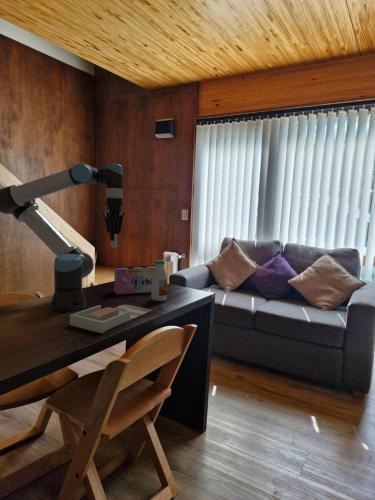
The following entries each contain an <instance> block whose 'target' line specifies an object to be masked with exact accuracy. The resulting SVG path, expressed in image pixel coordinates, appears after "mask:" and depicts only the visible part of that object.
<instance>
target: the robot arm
mask: <svg viewBox="0 0 375 500" xmlns="http://www.w3.org/2000/svg"><path fill="white" fill-rule="evenodd" d="M123 171H124V170H123V166H122V165H121V164H119V163H107V164H106V165H105V167H93V166H91V165H89V164H86V163H83V162H82V163H81V162H80V163H79V162H78V163H76V164H74V165H73V167H71V168H67V169H64V170H61V171H58V172H56V173H52V174H49V175H46V176H42V177H40V178H37V179H35V180H30V181H28V182H26V183H22V184H20V185H16V184H11V185H9V186H5V187H1V188H0V213H1V214H5V215H6V214H7V215H12V216H13V217H14V218H15V220H17V221H18V222H20V223H21V222H22V223H24V224H26V226H27V227H28V228H29V229H30V230H31V231H32V232H33V233H34V234H35V235H36V236H37V238H39V239H40V240H41V242H43V243H44V244H45V246H46V247H47V248H48V249H50V251H51V252H52V253H53V254H54V255H55V256H56V257H55V258H54V261H53V262H54V263H53V271H54V272H53V275H54V276H53V277H54V280H53V281H54V283H53V284H54V286H53V287H54V291H53V295H52V298H51V301H50V309H51V310H52V311H54V312H60V313H63V312H64V313H65V312H66V313H67V312H68V313H70V312H75V311H79V310H83V309H84V308H86V307H87V301H86V298H85V295H84V292H83V279H85V278H86V277H88V276H90V274H91V273H92V271H93V270H94V268H95V267H94V266H95V263H94V260H93V258H92V256H91V255H90V254H88V253H86V252H83V251H82V250H81V249H80V248H79V247H78V246H75V245H74V246H72V244H71V243H70V242H69V241H68V240H67V239H66V238H65V237H64V235H63V234H62V233H61V232H59V230H58V229H57V228H56V227H55V226H54V225H53V224H52V223H51V222H50V221H49V220H48V219H47V218H46V216H45V215H44V214H43V213H41V212H40V211H39V209H40V208H39V205H38V204H37V202H36V200H37V199H39V198H42V197H45V196H48V195H51V194H55V193H57V192H60V191H64V190H66V189H68V188H72V187H75V186H79V185H82V184H84V185H105V188H106V190H105V194H106V196H105V197H106V198H105V205H106V206H107V209H106V211H104V212H103V213H102V214H103V216H104V222H105V223H104V224H105V228H106V229H105V230H106V232H107V233H108V234H110V235H109V239H110V248H113V249H114V248H115V249H116V248H118V238H119V237H118V236H119V235H120V233H121V232H122V226H123V220H124V216H125V212H123V211H122V208H121V207H122V206H123V199H122V198H123V194H124V193H123V190H124V189H123V182H124V181H123V179H124V174H123V173H124V172H123Z"/></svg>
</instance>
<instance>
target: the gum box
mask: <svg viewBox="0 0 375 500" xmlns="http://www.w3.org/2000/svg"><path fill="white" fill-rule="evenodd" d="M155 267H156V265H135V266H132V265H131V266H130V265H129V266H114V281H113V282H114V286H113V287H114V290H113V291H114V293H116V295H127V294H128V295H129V294H138V293H139V294H142V293H144V294H145V293H152V275H153V272H154V270H155Z"/></svg>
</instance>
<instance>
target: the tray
mask: <svg viewBox="0 0 375 500" xmlns="http://www.w3.org/2000/svg"><path fill="white" fill-rule="evenodd" d="M101 309H102V305H100V304H99V305H96V306H92V307H89V308H87V309H84V310H83V309H82V310H80V311H78V312H77V311H76V312H74V313H72V314H69V326H73V327H76V328H80V329H84V330H87V331H91V332H96V333H100V334H104V333H106V332H107V331H108V330H111V329H113V328H116V327H118V326H120V325H122V324H124V323H127V322H129V321H131V320H130V312H129V311H127V312H124V313H122V314H119V315H117V316H114V317H112V318H109V319H107V320H104V321H99V320H95V319H91V318H87V314H89V313H92V312H95V311H98V310H101Z"/></svg>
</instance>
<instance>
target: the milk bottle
mask: <svg viewBox="0 0 375 500" xmlns="http://www.w3.org/2000/svg"><path fill="white" fill-rule="evenodd" d="M154 263H155V265H154V266H156V267H155V270H154V272H153V275H152V292H151V295H150V298H151V300H152V301H158V302H164V301H167V298H168V275H167V272H166V269H165V260H163V259H156V260H155V262H154Z"/></svg>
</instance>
